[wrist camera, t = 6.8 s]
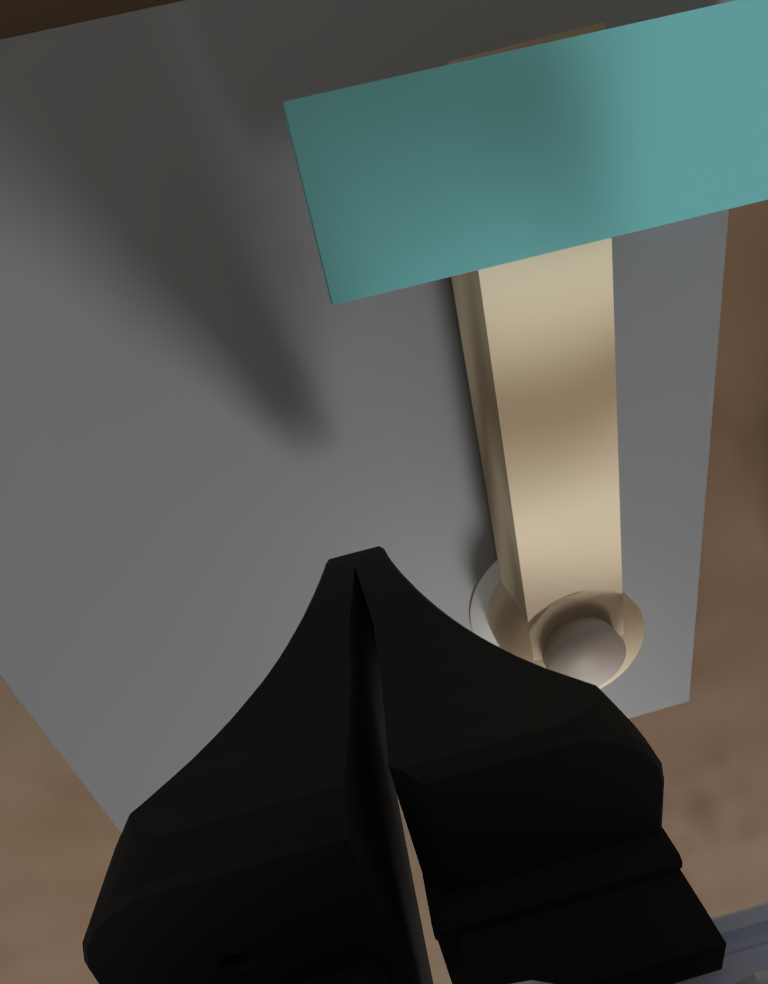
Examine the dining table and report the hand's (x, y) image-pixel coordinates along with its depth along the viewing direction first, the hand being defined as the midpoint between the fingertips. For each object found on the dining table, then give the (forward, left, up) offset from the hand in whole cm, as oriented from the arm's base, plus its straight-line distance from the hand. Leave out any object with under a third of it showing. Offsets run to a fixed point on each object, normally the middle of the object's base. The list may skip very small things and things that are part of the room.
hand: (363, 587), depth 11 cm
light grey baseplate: (0, 0, -5) cm, 5 cm away
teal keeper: (-6, -8, -5) cm, 11 cm away
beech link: (-6, -1, -3) cm, 7 cm away
